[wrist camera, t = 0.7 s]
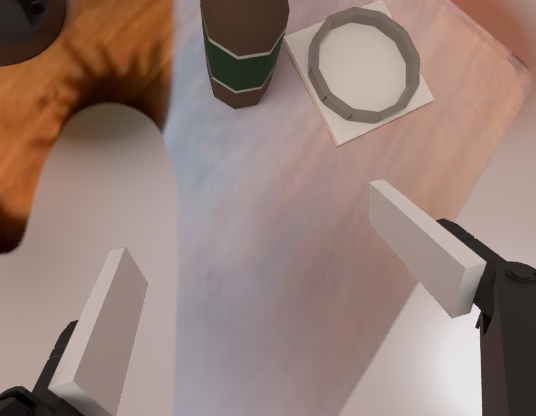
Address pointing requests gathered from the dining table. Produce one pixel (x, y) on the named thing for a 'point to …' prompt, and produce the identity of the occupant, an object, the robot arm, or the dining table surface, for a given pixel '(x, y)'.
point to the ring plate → (359, 70)
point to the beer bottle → (242, 46)
